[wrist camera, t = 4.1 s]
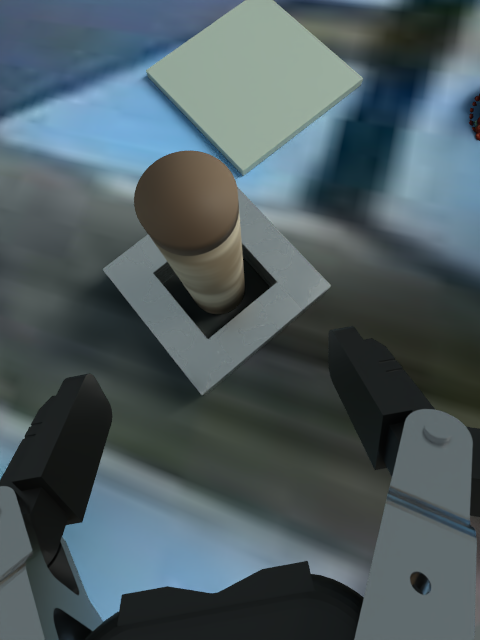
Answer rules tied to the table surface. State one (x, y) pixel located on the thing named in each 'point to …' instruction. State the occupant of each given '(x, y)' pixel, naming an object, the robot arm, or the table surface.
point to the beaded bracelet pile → (478, 123)
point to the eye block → (242, 331)
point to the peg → (195, 225)
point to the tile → (253, 81)
